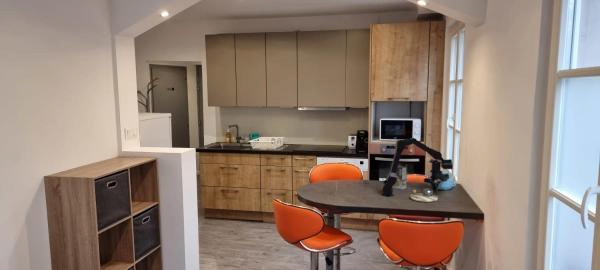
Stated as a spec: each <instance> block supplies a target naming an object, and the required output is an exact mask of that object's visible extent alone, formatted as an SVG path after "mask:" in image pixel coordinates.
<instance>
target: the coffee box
mask: <svg viewBox="0 0 600 270" xmlns="http://www.w3.org/2000/svg"><path fill="white" fill-rule="evenodd" d="M396 175H397V176H398V178H397V182H396V183H395V184H394V185H393V186H392V188H393V189H397V190H405V189H407V188H408V187H407V186H408V185H407V182H408V178H407V177H408V167H407V166H402V165H398V167H397V171H396Z"/></svg>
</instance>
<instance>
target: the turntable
mask: <svg viewBox="0 0 600 270" xmlns="http://www.w3.org/2000/svg"><path fill="white" fill-rule="evenodd" d="M438 197H439V196H437V195H435V194H433V196H431V197H427V196H424V195H423V192H417V189H413V190H412V193H411V194H409V199H411V200H413V201H417V202H422V203H425V202H427V203H431V202H432V203H433V202H437V201H439V198H438Z"/></svg>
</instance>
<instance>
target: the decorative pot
mask: <svg viewBox="0 0 600 270" xmlns="http://www.w3.org/2000/svg"><path fill="white" fill-rule="evenodd" d="M441 171H442V174H449V179H447V181H445V182H442V181H441V182H442V183H440V184H439V186H438V188H437V191H439V190H444V191H449V190H451V189H452V188H453V187H455V186H456V185H457V183H455V181H456V175H454V174H450V173H449V172H445V171H444V170H441ZM431 174H432V172H430V173H429V174H428V175H427V178H430V176H431ZM452 177H453V179H452ZM426 184H427V185H429V186H431V187H432V185H431V184H430V183H426ZM438 189H439V190H438Z"/></svg>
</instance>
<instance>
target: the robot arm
mask: <svg viewBox="0 0 600 270" xmlns="http://www.w3.org/2000/svg"><path fill="white" fill-rule="evenodd" d="M410 145H414V146H416V147H417V148H419V149H420V150H422V151H424V152H425V153H427V154H428V155H429V156H430V157H431V159H430V160H429V161H428V163H430V164H431V170H429V172H430V174H431V173H432V174H431V175H430V176H429V177H430V178H428V177H425V178H423V183H426V184H427V183H430V186H431V185H432V186H431V189H432V190H433V193H435V192H437V191H438V190H437V188H438V186H439V184H440V183H442V182H445V181H447V179H449V175H450V173H449V174H442V171H443V170H453V167H454V164H453V161H452V159H451V158H450V159H448V158H447V159H444V157H443V154H442V152H441V151H439V150H436V149H434V148H431V147H429V146H427V145H426V144H424V143H422V142H421V141H419V140H418V139H417V138H415V137H411V138H404V139H401V138H398V139H396V141H395V150H394V151H395V152H394V156H393V160H392V163H391V166H390V170H389V172H388V173H387V176H386V177H385V180H384V181H382V184H383V186H382V193H381V194H380V195H381V196H383V197H392V196H394V194H393V192H394V191H393V189H394V188H392V186H393V185H394V184H395V183H396V182H397V178H398V176H397V175H396V171H397V167H398V166H399V163H400V159H401V156H402V153H403V152H404V151H405V150H404V149H405V148H406V147H408V146H410ZM441 169H442V170H441ZM441 181H442V182H441Z"/></svg>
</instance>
